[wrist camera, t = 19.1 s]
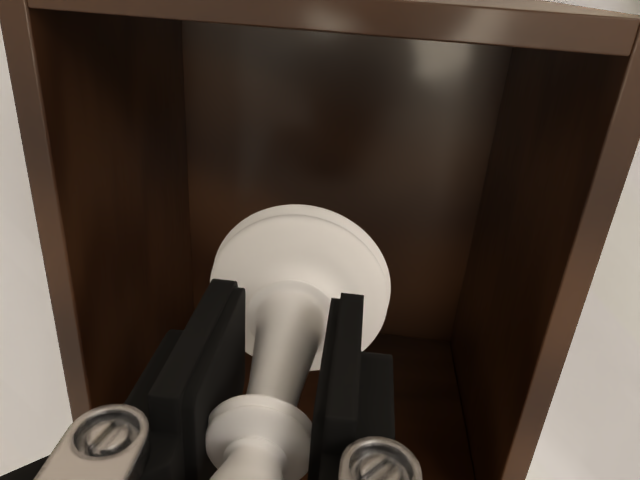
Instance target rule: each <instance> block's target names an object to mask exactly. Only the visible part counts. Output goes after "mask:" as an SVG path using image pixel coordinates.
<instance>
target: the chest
mask: <svg viewBox="0 0 640 480" xmlns="http://www.w3.org/2000/svg"><path fill="white" fill-rule="evenodd" d="M0 24H1V29H2V35H3V40H4V46H5V51H6V57H7V62H8V68H9V73H10V79H11V84H12V90H13V95H14V101H15V106H16V112H17V117H18V123H19V128H20V133H21V139H22V144H23V150H24V155H25V161H26V166H27V172H28V177H29V183H30V188H31V194H32V199H33V205H34V210H35V216H36V221H37V227H38V232H39V238H40V243H41V249H42V254H43V260H44V265H45V271H46V276H47V282H48V287H49V293H50V298H51V304H52V309H53V315H54V320H55V326H56V331H57V337H58V342H59V348H60V353H61V359H62V364H63V370H64V375H65V381H66V386H67V392H68V397H69V403H70V408H71V414H72V419H73V422H74V421H75V420H76V419H77V418H78V417H80V416H81V415H83V414H84V413H86V412H87V411H90V410H92V409H94V408H97V407H99V406H104V405H109V404H124V403H125V401H126V399H127V398H128V396H129V394H130V393H131V391H132V389H133V388H134V386H135V384H136V383H137V381H138V379H139V378H140V376H141V374H142V373H143V371H144V369H145V368H146V366H147V364H148V363H149V361H150V359H151V358H152V356H153V354H154V353H155V351H156V349H157V348H158V346H159V345H160V343H161V341H162V340H163V338H164V336H165V335H166V333H167V332H168V331H169V330H171V329H176V330H184V329H185V327H186V325H187V323H188V321H189V320H190V318H191V316H192V314H193V312H194V311H195V309H196V307H197V305H198V304H199V302H200V300H201V298H202V296H203V295H204V293H205V291H206V289H207V287H208V286H209V284H210V277H211V272H212V268H213V265H214V260H215V257H216V254H217V251H218V249H219V247H220V245H221V243H222V242H223V240H224V239H225V237H226V236H227V234H228V233H229V232H230V231H231V230H232V229H233V228H234V227H235V226H236V225H237V224H238V223H240V222H241V221H242V220H244V219H245V218H247V217H249V216H250V215H252V214H254V213H256V212H259V211H261V210H264V209H267V208H271V207H275V206H280V205H290V204H300V205H310V206H316V207H320V208H324V209H327V210H330V211H333V212H335V213H338V214H340V215H342V216H344V217H346V218H347V219H349V220H351V221H352V222H354V223H355V224H356V225H358V226H359V227H360V228H361V229H363V230H364V231H365V232H366V233H367V234H368V235H369V236H370V237H371V239H372V240H373V241H374V242H375V244H376V245H377V246H378V248H379V249H380V251H381V253H382V255H383V257H384V259H385V261H386V264H387V267H388V271H389V275H390V282H391V294H390V301H389V305H388V309H387V313H386V317H385V320H384V323H383V325H382V328H381V330H380V331H379V333H378V335H377V336H376V338H375V339H374V340H373V342H372V343H371V344H370V345H369V346H368V347H367V348H366V349H365V350H364V352H372V353H381V354H389V355H392V357H393V383H394V417H395V441H397V442H399V443H401V444H403V445H404V446H406V447H407V448H408V449H409V450H410V451H411V452H412V453H413V454H414V455H415V457H416V458H417V460H418V461H419V463H420V467H421V471H422V480H525V479H526V476H527V473H528V470H529V467H530V464H531V461H532V458H533V455H534V452H535V449H536V446H537V443H538V440H539V437H540V434H541V431H542V428H543V425H544V422H545V419H546V416H547V413H548V410H549V407H550V404H551V401H552V398H553V395H554V392H555V389H556V386H557V383H558V380H559V377H560V374H561V371H562V368H563V365H564V362H565V359H566V356H567V353H568V350H569V347H570V345H571V342H572V339H573V336H574V333H575V330H576V327H577V324H578V321H579V318H580V315H581V312H582V309H583V306H584V303H585V300H586V297H587V294H588V291H589V288H590V285H591V282H592V279H593V276H594V273H595V270H596V267H597V264H598V261H599V258H600V255H601V252H602V249H603V246H604V243H605V240H606V237H607V234H608V231H609V228H610V225H611V222H612V219H613V216H614V213H615V210H616V207H617V204H618V202H619V199H620V196H621V193H622V190H623V187H624V184H625V181H626V178H627V175H628V172H629V169H630V166H631V163H632V160H633V157H634V154H635V151H636V148H637V145H638V142H639V139H640V15H634V14H627V13H621V12H614V11H608V10H601V9H595V8H588V7H582V6H575V5H569V4H563V3H556V2H550V1H543V0H0ZM251 364H252V356H251V355H249V354H248V353H246V352H245V382H244V389H243V393H242V395H246V392H247V388H248V383H249V377H250V370H251ZM319 372H320V370H314V371H309V373H308V376H307V379H306V381H305V384H304V387H303V390H302V392H301V395H300V398H299V401H298V405H297V408H298V409H300V410H301V411H302V412H303V413H304V414H305V415H306V416H307V417H308V418H309V419H310V421H311V422H312V419H313V411H314V404H315V397H316V391H317V385H318V378H319ZM217 470H218V469H217ZM307 479H308V472H307V473H306V474H305V475H304V476H303V477H302V478H301V479H300V480H307Z"/></svg>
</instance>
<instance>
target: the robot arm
mask: <svg viewBox="0 0 640 480" xmlns="http://www.w3.org/2000/svg"><path fill="white" fill-rule="evenodd" d="M245 298H246V294H245V288H240V287H238V284H237V281H232V280H223V279H212V280H211V282H210V284H209V286H208V287H207V289H206V291H205V293H204V295H203V296H202V298H201V300H200V302H199V304H198V305H197V307H196V309H195V311H194V312H193V314H192V316H191V318H190V320H189V321H188V323H187V325H186V327H185V329H184V330H176V329H171V330H169V331H168V332H167V333H166V335H165V336H164V338H163V340H162V341H161V343H160V345H159V346H158V348H157V349H156V351H155V353H154V354H153V356H152V358H151V359H150V361H149V363H148V364H147V366H146V368H145V369H144V371H143V373H142V374H141V376H140V378H139V379H138V381H137V383H136V384H135V386H134V388H133V389H132V391H131V393H130V394H129V396H128V398H127V399H126V401H125V403H124V404H109V405H104V406H99V407H97V408H94V409H92V410H90V411H87V412H86V413H84V414H83V415H81V416H80V417H78V418H77V419H76V420H75V421H74V422H73V423H72V424H71V425H70V427H69V428H68V429H67V431H66V432H65V434H64V435H63V437H62V438H61V440H60V441H59V443H58V444H57V445H56V447H55V448H54V450H53V451H52V453H51V454H50V455H49V456H46V457H44V458H42V459H39V460H37V461H35V462H33V463H30V464H28V465H26V466H23V467H21V468H19V469H17V470H14V471H12V472H10V473H7V474H5V475H3V476H1V477H0V480H210V478H211V477H212V476H213V474H214V473H215V472H216V471H217V468H216V467H215V466H214V465H213V463H212V462H211V460H210V459H209V457H208V455H207V452H206V440H205V438H206V430H207V428H208V418H209V415H210V413H211V412H212V411H213V409H214V408H215V407H217V406H218V405H219V404H220V403H222V402H224V401H225V400H227V399H230V398H232V397H236V396H240V395H242V393H243V389H244V382H245ZM363 306H364V295H359V294H350V293H341V297H340V299H339V298H331V302H330V309H329V315H328V321H327V328H326V334H325V340H324V347H323V353H322V359H321V366H320V372H319V378H318V385H317V391H316V397H315V404H314V411H313V419H312V430H311V442H310V454H309V467H308V479H307V480H422V471H421V467H420V463H419V461H418V460H417V458H416V457H415V455H414V454H413V453H412V452H411V451H410V450H409V449H408V448H407V447H406V446H404V445H403V444H401V443H399V442H397V441H395V417H394V383H393V357H392V355H389V354H381V353H372V352H364V351H361V342H362V324H363Z"/></svg>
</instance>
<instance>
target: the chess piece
mask: <svg viewBox="0 0 640 480" xmlns="http://www.w3.org/2000/svg"><path fill="white" fill-rule="evenodd" d="M212 279H223V280H232V281H237V284H238V287H240V288H245V294H246V298H245V352H246V353H248V354H249V355H251V356H252V364H251V370H250V377H249V383H248V388H247V392H246V395H240V396H236V397H232V398H230V399H227V400H225V401H224V402H222V403H220V404H219V405H218V406H217V407H215V408H214V409H213V411H212V412H211V413H210V415H209V418H208V428H207V430H206V438H205V440H206V452H207V455H208V457H209V459H210V460H211V462H212V463H213V465H214V466H215V467H216V468H217V469H218V470H217V471H216V472H215V473H214V474H213V476H212V477H211V478H210V480H300V479H301V478H302V477H303V476H304V475H305V474H306V473H307V472H308V467H309V454H310V442H311V430H312V422H311V421H310V419H309V418H308V417H307V416H306V415H305V414H304V413H303V412H302V411H301V410H300V409H298V408H297V405H298V401H299V398H300V395H301V392H302V390H303V387H304V384H305V381H306V379H307V376H308V373H309V371H314V370H320V366H321V359H322V353H323V347H324V340H325V334H326V328H327V321H328V315H329V309H330V302H331V298H339V299H340V297H341V293H350V294H359V295H364V306H363V324H362V342H361V351H364V350H365V349H366V348H367V347H368V346H369V345H370V344H371V343H372V342H373V340H374V339H375V338H376V336H377V335H378V333H379V331H380V330H381V328H382V325H383V323H384V320H385V317H386V313H387V309H388V305H389V301H390V294H391V282H390V275H389V271H388V267H387V264H386V261H385V259H384V257H383V255H382V253H381V251H380V249H379V248H378V246H377V245H376V244H375V242H374V241H373V240H372V239H371V237H370V236H369V235H368V234H367V233H366V232H365V231H364V230H363V229H361V228H360V227H359V226H358V225H356V224H355V223H354V222H352V221H351V220H349V219H347V218H346V217H344V216H342V215H340V214H338V213H335V212H333V211H330V210H327V209H324V208H320V207H316V206H310V205H300V204H290V205H280V206H275V207H271V208H267V209H264V210H261V211H259V212H256V213H254V214H252V215H250V216H249V217H247V218H245V219H244V220H242V221H241V222H240V223H238V224H237V225H236V226H235V227H234V228H233V229H232V230H231V231H230V232H229V233H228V234H227V236H226V237H225V239H224V240H223V242H222V243H221V245H220V247H219V249H218V251H217V254H216V257H215V260H214V265H213V268H212V272H211V277H210V282H211V280H212Z"/></svg>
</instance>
